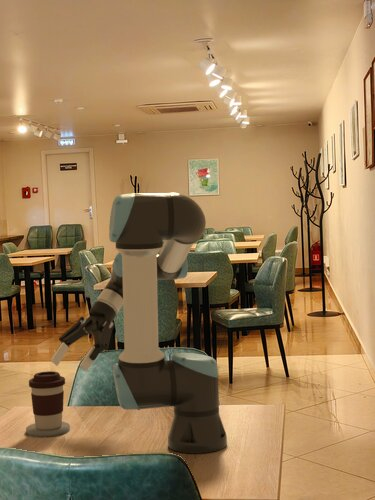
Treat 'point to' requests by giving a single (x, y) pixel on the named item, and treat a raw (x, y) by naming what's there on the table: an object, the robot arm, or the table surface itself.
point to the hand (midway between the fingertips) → (68, 365)
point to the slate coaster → (47, 431)
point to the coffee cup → (47, 399)
